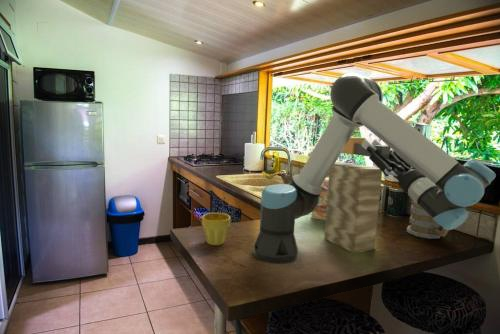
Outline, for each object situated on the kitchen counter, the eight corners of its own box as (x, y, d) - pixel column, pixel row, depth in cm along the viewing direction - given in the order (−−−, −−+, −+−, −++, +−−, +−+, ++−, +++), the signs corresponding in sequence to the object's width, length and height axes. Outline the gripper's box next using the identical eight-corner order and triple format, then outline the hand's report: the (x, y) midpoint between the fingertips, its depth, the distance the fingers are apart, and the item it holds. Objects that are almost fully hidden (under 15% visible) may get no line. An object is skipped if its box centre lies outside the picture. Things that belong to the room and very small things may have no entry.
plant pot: (217, 249, 115) (218, 222, 113) (195, 242, 120) (196, 216, 119) (235, 241, 123) (236, 216, 122) (213, 235, 129) (214, 210, 128)
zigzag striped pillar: (374, 249, 122) (382, 168, 117) (354, 253, 117) (362, 169, 113) (343, 235, 136) (349, 162, 131) (324, 238, 131) (330, 163, 127)
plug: (391, 158, 112) (393, 140, 111) (378, 158, 109) (380, 140, 108) (348, 152, 129) (349, 136, 128) (336, 152, 126) (338, 136, 126)
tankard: (400, 229, 147) (404, 196, 145) (424, 228, 150) (428, 195, 148) (436, 246, 127) (440, 208, 125) (462, 244, 131) (467, 207, 129)
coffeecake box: (310, 218, 158) (313, 178, 155) (313, 214, 164) (316, 176, 162) (343, 223, 152) (346, 181, 150) (344, 219, 159) (348, 179, 156)
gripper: (391, 196, 98) (345, 151, 115) (427, 193, 106) (380, 150, 122) (404, 177, 94) (355, 132, 110) (441, 175, 102) (390, 133, 118)
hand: (368, 142), depth 116 cm, fingers closed on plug, 4 cm apart
